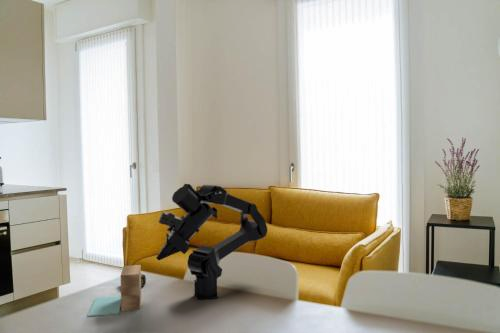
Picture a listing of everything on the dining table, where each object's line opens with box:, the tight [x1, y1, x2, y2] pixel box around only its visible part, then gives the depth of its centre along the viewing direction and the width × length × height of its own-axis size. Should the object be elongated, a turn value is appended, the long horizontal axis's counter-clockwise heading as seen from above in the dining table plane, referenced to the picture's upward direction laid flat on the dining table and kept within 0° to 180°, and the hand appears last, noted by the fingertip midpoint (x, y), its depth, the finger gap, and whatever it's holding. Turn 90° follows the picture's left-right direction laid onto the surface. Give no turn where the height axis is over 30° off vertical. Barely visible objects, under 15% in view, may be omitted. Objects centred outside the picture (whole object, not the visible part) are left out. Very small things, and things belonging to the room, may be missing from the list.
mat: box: [87, 295, 121, 318], centre depth 117 cm, size 8×14×1 cm, turn 13°
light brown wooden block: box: [120, 264, 142, 312], centre depth 118 cm, size 5×10×10 cm, turn 13°
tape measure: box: [141, 273, 147, 288], centre depth 134 cm, size 7×7×4 cm
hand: (157, 259), depth 120 cm, fingers closed
